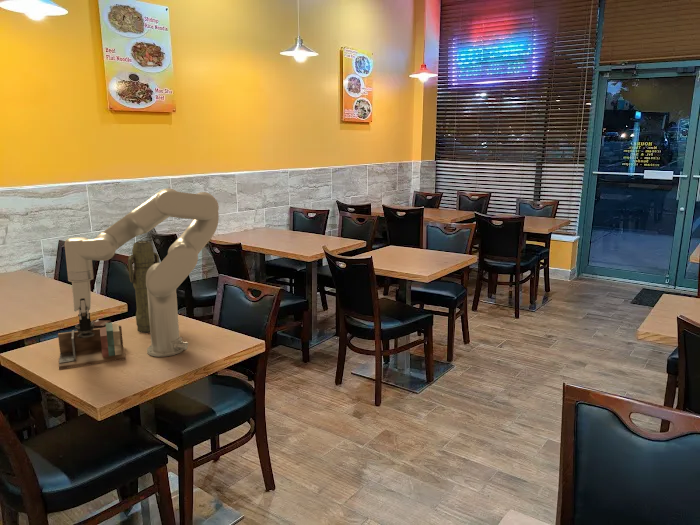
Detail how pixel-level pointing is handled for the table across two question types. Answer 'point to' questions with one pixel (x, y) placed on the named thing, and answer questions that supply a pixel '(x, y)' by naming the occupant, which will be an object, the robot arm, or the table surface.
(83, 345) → the shelf
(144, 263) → the robed figure statue
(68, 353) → the bookend
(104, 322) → the box
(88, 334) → the dark grey chess piece
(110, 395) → the table surface
